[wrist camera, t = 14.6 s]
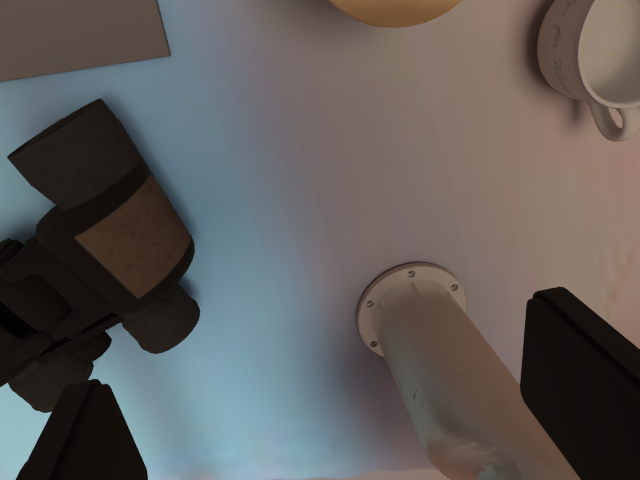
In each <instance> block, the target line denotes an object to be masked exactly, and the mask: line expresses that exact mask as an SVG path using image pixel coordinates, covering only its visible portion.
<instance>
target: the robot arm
mask: <svg viewBox="0 0 640 480" xmlns="http://www.w3.org/2000/svg"><path fill="white" fill-rule="evenodd" d="M466 311H467V298H466V294H465V291H464V288H463V287H462V285H461V284H460V282H459V281H458V280H457V279H456V277H455V276H454V275H453V274H452V273H450V272H449V271H448V270H446V269H445V268H442V267H440V266H438V265H434V264H430V263H411V264H405V265H402V266H399V267H396V268H393V269H391V270H389V271H388V272H386V273H384V274H383V275H381V276H380V277H379V278H377V279H376V280H375V281H374V282H373V283H372V284H371V285H370V286H369V287H368V289H367V290H366V292H365V293H364V295H363V296H362V299H361V301H360V303H359V306H358V311H357V325H358V329H359V332H360V335H361V337H362V339H363V341H364V342H365V344H366V345H367V347H369V348H370V349H371V350H372V351H373V352H374V353H376V354H378V355H379V356H382V357H384V358H385V360H386V362H387V364H388V367H389V369H390V372H391V374H392V376H393V379H394V381H395V384H396V386H397V388H398V391H399V393H400V396H401V398H402V401H403V403H404V405H405V408H406V410H407V413H408V415H409V417H410V420H411V422H412V425H413V427H414V430H415V432H416V434H417V437H418V439H419V441H420V444H421V446H422V448H423V450H424V452H425V454H426V456H427V457H428V458H429V460H430V461H431V463H432V464H433V465H434V466H435V467H436V468H437V469H438V470H439V471H440V472H441V473H442V474H444V475H445V476H446V477H448V478H449V479H451V480H640V349H638V348H637V347H636V346H635V345H634V344H632V343H631V342H630V341H628V339H626V338H625V337H624V336H623V335H621V334H620V333H619V332H618V331H617V330H615V329H614V328H613V327H612V326H610V325H609V324H608V323H607V322H606V321H605V320H603V319H602V318H601V317H600V316H598V315H597V314H596V313H595V312H594V311H592V310H591V309H590V308H589V307H588V306H586V305H585V304H584V303H583V302H582V301H580V300H579V299H578V298H577V297H575V296H574V295H573V294H572V293H571V292H569V291H568V290H567V289H565V288H564V287H556V288H551V289H546V290H541V291H537V292H535V293H534V295H533V298H532V299H530V300H528V302H527V307H526V319H525V332H524V344H523V357H522V369H521V382H520V385H519V384H518V382H517V381H516V380H515V378H514V377H513V376H512V374H511V373H510V372H509V370H508V369H507V368H506V366H505V365H504V364H503V362H502V361H501V360H500V358H499V357H498V356H497V355H496V353H495V352H494V351H493V349H492V348H491V347H490V345H489V344H488V343H487V341H486V340H485V339H484V337H483V336H482V335H481V333H480V332H479V331H478V329H477V328H476V327H475V326H474V324H473V323H472V322H471V320H470V319H469V318H468V316H467V315H466ZM16 480H148V475H147V469H146V466H145V464H144V462H143V460H142V457H141V455H140V453H139V451H138V448H137V446H136V444H135V441H134V439H133V437H132V435H131V432H130V430H129V428H128V426H127V423H126V421H125V419H124V417H123V414H122V412H121V410H120V408H119V405H118V403H117V401H116V398H115V396H114V394H113V392H112V389H111V388H110V386H109V385H108V384H103V385H102V384H101V382H100V381H99V380H98V379H92V380H87V381H82V382H77V383H72V384H68V385H67V386H66V387H65V388H64V389H63V391H62V393H61V395H60V397H59V399H58V401H57V403H56V405H55V407H54V409H53V411H52V413H51V415H50V417H49V419H48V421H47V423H46V425H45V427H44V429H43V431H42V433H41V435H40V437H39V439H38V441H37V443H36V445H35V447H34V449H33V451H32V453H31V455H30V457H29V459H28V461H27V462H26V463H25V464H24V466H23V467H22V469H21V470H20V472H19V474H18V476H17V478H16Z"/></svg>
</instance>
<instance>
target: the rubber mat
mask: <svg viewBox="0 0 640 480" xmlns="http://www.w3.org/2000/svg"><path fill="white" fill-rule="evenodd" d="M166 56H171V52H170V49H169V45H168V41H167V37H166V33H165V29H164V25H163V21H162V17H161V13H160V10H159V6H158V2H157V0H0V81H6V80H13V79H19V78H26V77H33V76H39V75H46V74H53V73H59V72H66V71H73V70H79V69H86V68H93V67H99V66H106V65H112V64H119V63H126V62H132V61H139V60H146V59H152V58H159V57H166Z"/></svg>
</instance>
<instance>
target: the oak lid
mask: <svg viewBox="0 0 640 480" xmlns="http://www.w3.org/2000/svg"><path fill="white" fill-rule="evenodd" d="M328 1H329V2H330V3H331V4H332V5H333V6H335V7H336V8H337V9H339V10H340V11H341V12H343V13H344V14H346V15H348V16H349V17H351V18H353V19H355V20H357V21H360V22H363V23H366V24H369V25H374V26H379V27H407V26H414V25H418V24H422V23H425V22H427V21H430V20H432V19H435V18H437V17H439V16H440V15H442V14H444V13H446V12H447V11H449V10H450V9H452V8H453V7H454V6H456V5H457V4H458V3H460V2H461V1H462V0H328Z"/></svg>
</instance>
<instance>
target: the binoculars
mask: <svg viewBox="0 0 640 480" xmlns="http://www.w3.org/2000/svg"><path fill="white" fill-rule="evenodd" d="M7 158H8V159H9V160H10V161H11V163H12V164H13V165H14V166H15V167H16V168H17V170H18V171H19V172H20V173H21V174H22V175H23V177H24V178H25V179H26V180H27V181H28V182H29V184H30V185H31V186H33V187H34V188H35V189H37V190H38V191H39V192H40V193H42V194H43V195H44V196H46V197H47V198H48V199H49V200H51V201H52V202H53V203H54V204H56V206H55V207H54V208H53V209H51V210H50V211H49V212H48V213H47V214H46V215H45V216H44V217H43V218H42V219H41V220H40V221H39V223H38V224H37V227H36V235H35V236H34V237H32V238H30V239H29V240H27V241H26V244H25V245H24V244H22V243H21V242H19V241H18V240H10V239H6V240H4V241H1V242H0V387H1V386H3V385H5V384H6V383H8V384H9V386H10V388H11V389H12V390H13V391H14V392H15V393H16V394H18V395H19V396H20V397H21V398H23V399H24V400H25V401H26V402H28V403H29V404H30V405H31V406H32V408H33V409H34V410H36V411H40V412H43V413H48V412H52V411H53V409H54V407H55V405H56V403H57V401H58V399H59V397H60V395H61V393H62V391H63V389H64V388H65V387H66V386H67V385H68V384H72V383H77V382H82V381H87V380H88V379H89V377H90V375H91V374H92V370H93V366H94V365H93V361H94V360H96V359H98V358H99V357H100V356H101V355H103V354H104V352H105V351H106V350H107V349H108V348H109V346H110V344H111V341H112V339H111V338H110V336H109V335H108V334H107V333H106V332H105V330H107V329H109V328H111V327H113V326H115V325H116V324H118V323H120V322H121V323H122V325H123V327H124V328H125V329H126V330H127V331H128V332H129V333H130V334H131V335H132V336H133V337H134V338H135V340H136V341H137V342H138V343H139V345H140V346H141V348H142V349H143V350H146V351H148V352H149V353H153V354H158V353H163V352H165V351H168V350H170V349H171V348H173V347H175V346H176V345H178V344H179V343H180V342H181V341H183V340H184V339H185V338H186V337H187V336H188V335H189V334H190V333H191V331H192V330H193V329H194V327H195V326H196V324H197V322H198V320H199V317H200V309H199V307H198V304H197V302H196V300H194V299H193V298H191V297H190V296H189V295H188V294H187V292H186V291H185V290H184V289H183V288H182V287H181V286H180V285H179V284H178V282H179V280H180V279H181V278H182V276H183V275H184V274H185V272H186V271H187V269H188V268H189V266H190V264H191V262H192V260H193V256H194V253H195V248H194V241H193V239H192V237H191V235H190V234H189V232H188V230H187V229H186V227H185V226H184V224H183V222H182V221H181V219H180V218H179V216H178V214H177V213H176V211H175V210H174V208H173V206H172V205H171V203H170V202H169V200H168V198H167V197H166V195H165V194H164V192H163V190H162V189H161V187H160V186H159V184H158V182H157V181H156V179H155V178H154V176H153V174H152V173H151V171H150V170H149V168H148V166H147V165H146V163H145V162H144V160H143V158H142V157H141V155H140V153H139V152H138V150H137V148H136V147H135V145H134V143H133V142H132V140H131V138H130V137H129V135H128V133H127V132H126V130H125V128H124V127H123V125H122V124H121V123H120V121H119V120H118V119H117V118H116V117H115V115H114V114H113V113H112V112H111V110H110V109H109V108H108V107H107V105H106V104H105V103H104V102H103V100H102V99H98V100H96V101H94V102H92V103H90V104H88V105H86V106H84V107H82V108H80V109H79V110H77V111H75V112H74V113H72V114H70V115H68V116H67V117H65V118H63V119H61V120H59V121H58V122H56V123H54V124H53V125H51V126H50V127H48V128H47V129H45V130H44V131H42V132H41V133H39V134H38V135H36V136H35V137H33V138H32V139H30V140H29V141H27V142H26V143H24V144H23V145H22V146H20V147H19V148H17V149H16V150H15V151H13V152H12V153H11V154H10V155H9V156H8V157H7Z"/></svg>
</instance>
